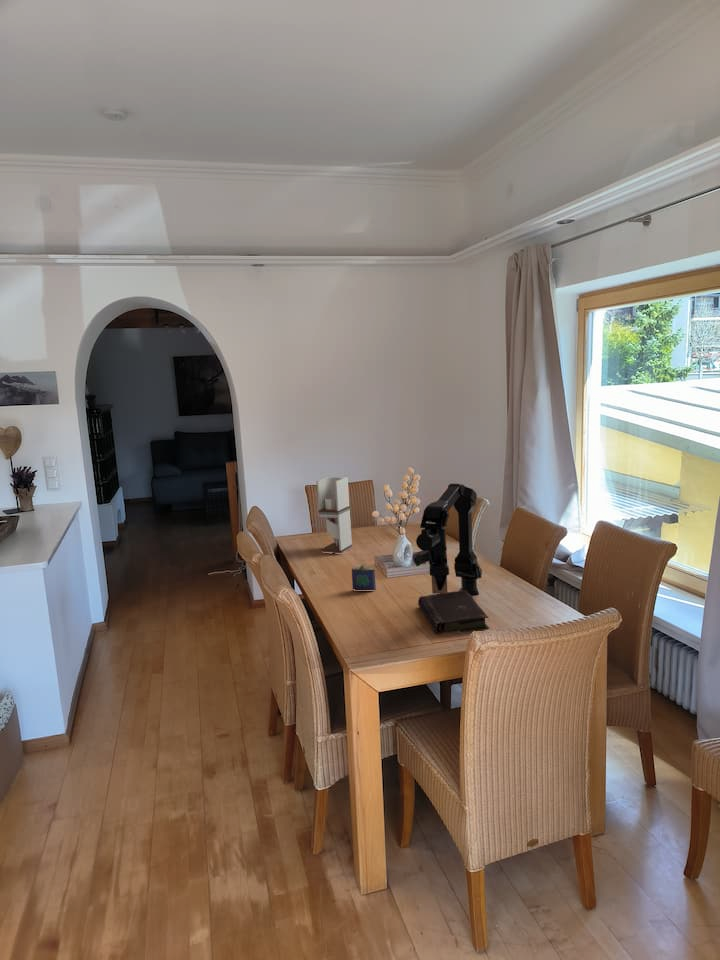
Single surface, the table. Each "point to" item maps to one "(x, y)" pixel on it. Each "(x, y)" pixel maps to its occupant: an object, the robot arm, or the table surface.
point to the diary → (453, 612)
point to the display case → (335, 512)
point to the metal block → (435, 588)
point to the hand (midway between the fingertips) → (439, 587)
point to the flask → (363, 578)
